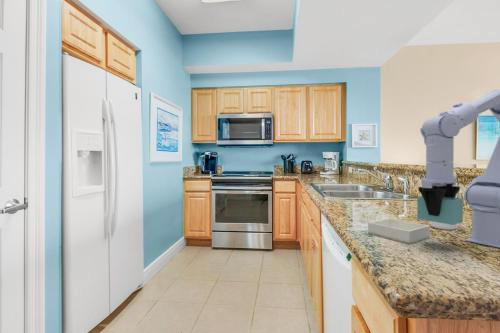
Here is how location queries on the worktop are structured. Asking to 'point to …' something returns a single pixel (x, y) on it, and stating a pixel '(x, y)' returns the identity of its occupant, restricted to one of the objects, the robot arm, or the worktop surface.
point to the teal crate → (442, 211)
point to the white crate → (399, 230)
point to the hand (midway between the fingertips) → (439, 214)
